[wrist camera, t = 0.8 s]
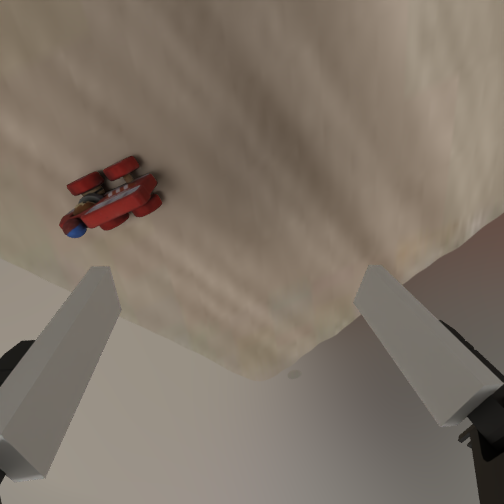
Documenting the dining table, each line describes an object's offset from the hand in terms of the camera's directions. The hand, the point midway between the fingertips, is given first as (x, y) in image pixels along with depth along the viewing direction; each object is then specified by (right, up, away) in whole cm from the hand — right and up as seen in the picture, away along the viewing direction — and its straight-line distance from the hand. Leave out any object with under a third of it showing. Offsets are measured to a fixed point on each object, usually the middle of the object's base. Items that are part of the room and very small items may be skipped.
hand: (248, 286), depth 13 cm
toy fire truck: (-18, +10, +21) cm, 29 cm away
